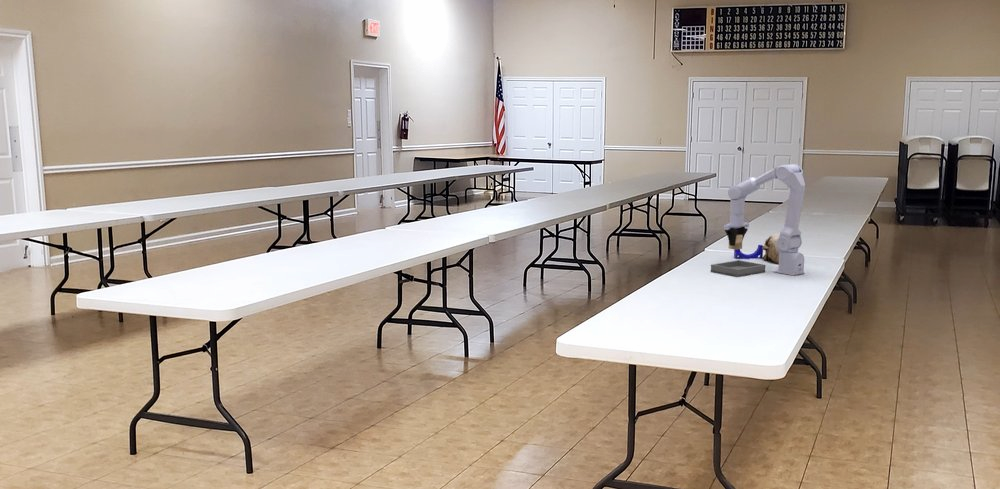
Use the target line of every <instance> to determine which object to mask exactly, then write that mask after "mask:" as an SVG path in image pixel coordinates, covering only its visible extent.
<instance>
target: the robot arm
mask: <svg viewBox="0 0 1000 489" xmlns="http://www.w3.org/2000/svg"><path fill="white" fill-rule="evenodd" d="M803 174H804V169H803V168H801V166H800V165H798V164H797V163H792V164H780V165H779V166H776V167H773V168H772V169H770V170H768V171H766V172H765V173H763V174H761V175H760V176H758V177H753V176H750V177H747V178H746V180H745V181H742V182H740V181H739V183H738V184H737V185H732V186H731V187H729V189H728V191H727V196H728V198H729V199H730V201H729V202H730V205H729V222H727V224H724V225H723V230H724V232H725V233H726V235H727V240H728V245H729V244H730V245H731V246H735V241H736V235H737V234H740V235H743V239H742V242H743V240H744V237H745V236H746V234H747V232H748V230H749V229H748V228H749V227H750V223H749V222H745V221H744V220H745V201H746V198H747V196H748V195H751V194H752V193H754V192H756V191H758V190H760V188H761V185H764V184H766V183H768V182H771V181H773V180H774V179H775V180H776V179H777V180H779V181H780V182H782V183H783V184H785V185H786V186H787V187H788V188H789V196H788V201H787V202H788V203H787V207H786V214H785V220H784V227H783V228H782V230H780V231H779V233H780V236H779V238H778V239H777V241H776V245H777V247H778V249H779V263H778V267H777V268H778V269H777V270H776V269H775V270H773V273H778V274H784V275H788V276H789V275H790V276H796V275H802V274H806V273H805V256H804V254H803V253H801V252H799V249H800V248H801V246H802V243H803V241H802V240H803V239H802V237H801V236H802V231H800V229H799V225H800V220H801V215H802V214H801V213H802V209H803V204H804V197H805V190H806V183H805V180H804V179H805V178H804V175H803Z"/></svg>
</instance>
